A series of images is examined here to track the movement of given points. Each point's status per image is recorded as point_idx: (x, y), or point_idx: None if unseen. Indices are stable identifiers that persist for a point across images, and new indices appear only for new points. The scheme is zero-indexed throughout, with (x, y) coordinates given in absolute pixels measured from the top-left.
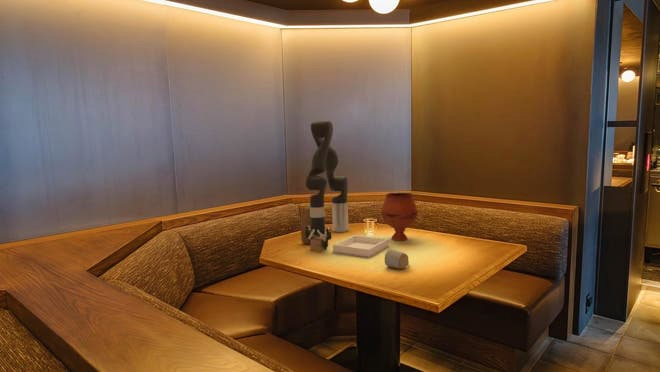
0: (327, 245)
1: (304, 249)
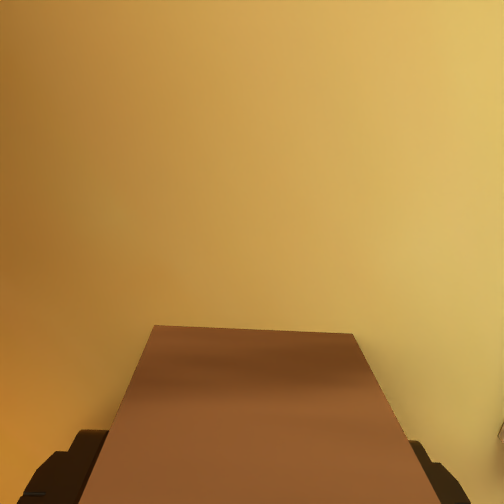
0: (452, 499)
1: (29, 445)
